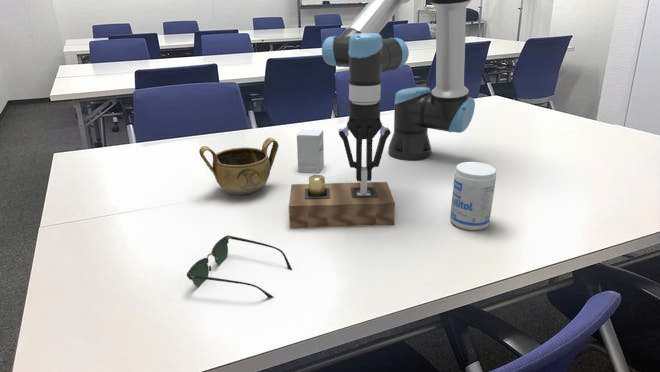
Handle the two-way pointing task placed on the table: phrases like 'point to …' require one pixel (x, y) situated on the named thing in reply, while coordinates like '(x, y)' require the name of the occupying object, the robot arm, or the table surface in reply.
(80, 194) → the table surface
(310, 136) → the supplement box
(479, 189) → the supplement tub
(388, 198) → the walnut block
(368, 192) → the steel peg
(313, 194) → the brass peg
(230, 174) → the ceramic bowl
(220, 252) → the sunglasses
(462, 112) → the robot arm
